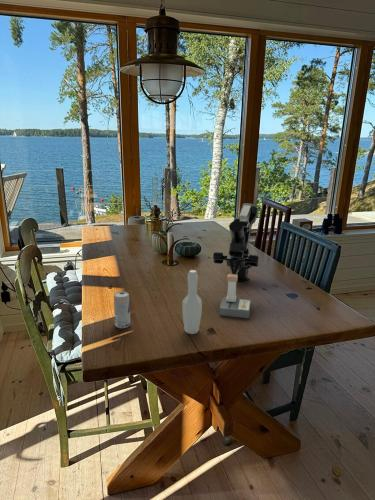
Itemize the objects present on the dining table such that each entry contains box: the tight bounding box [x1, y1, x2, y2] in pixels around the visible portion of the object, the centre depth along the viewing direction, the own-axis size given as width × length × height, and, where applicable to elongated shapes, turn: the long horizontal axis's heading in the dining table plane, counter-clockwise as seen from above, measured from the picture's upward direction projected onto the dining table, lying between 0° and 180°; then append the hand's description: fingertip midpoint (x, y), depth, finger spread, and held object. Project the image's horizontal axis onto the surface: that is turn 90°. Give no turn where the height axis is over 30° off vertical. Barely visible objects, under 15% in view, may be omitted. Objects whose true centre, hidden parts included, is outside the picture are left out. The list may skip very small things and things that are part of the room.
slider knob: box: [225, 273, 238, 302], centre depth 141 cm, size 4×4×10 cm
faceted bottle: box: [181, 269, 203, 335], centre depth 122 cm, size 6×6×22 cm
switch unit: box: [218, 297, 252, 319], centre depth 140 cm, size 10×11×3 cm
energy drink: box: [113, 290, 131, 329], centre depth 126 cm, size 5×5×12 cm
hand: (233, 277), depth 146 cm, fingers closed
